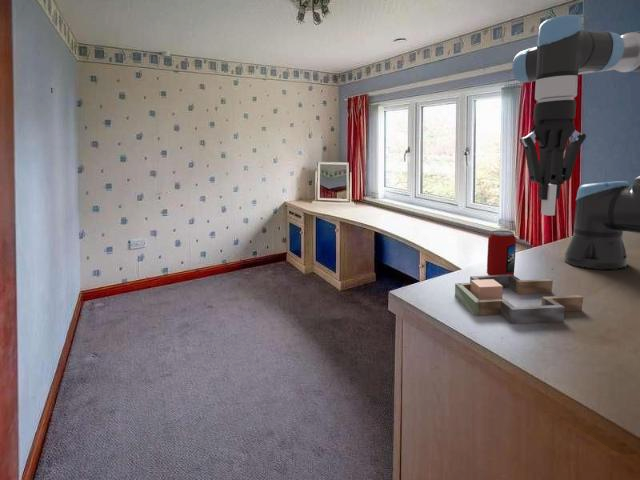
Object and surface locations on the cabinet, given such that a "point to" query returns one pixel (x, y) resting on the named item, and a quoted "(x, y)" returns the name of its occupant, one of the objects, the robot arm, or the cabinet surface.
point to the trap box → (546, 312)
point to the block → (486, 289)
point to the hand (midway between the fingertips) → (547, 214)
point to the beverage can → (501, 253)
